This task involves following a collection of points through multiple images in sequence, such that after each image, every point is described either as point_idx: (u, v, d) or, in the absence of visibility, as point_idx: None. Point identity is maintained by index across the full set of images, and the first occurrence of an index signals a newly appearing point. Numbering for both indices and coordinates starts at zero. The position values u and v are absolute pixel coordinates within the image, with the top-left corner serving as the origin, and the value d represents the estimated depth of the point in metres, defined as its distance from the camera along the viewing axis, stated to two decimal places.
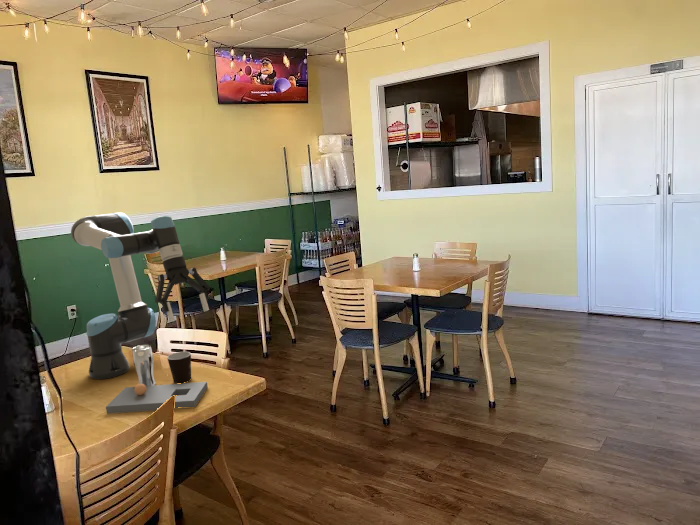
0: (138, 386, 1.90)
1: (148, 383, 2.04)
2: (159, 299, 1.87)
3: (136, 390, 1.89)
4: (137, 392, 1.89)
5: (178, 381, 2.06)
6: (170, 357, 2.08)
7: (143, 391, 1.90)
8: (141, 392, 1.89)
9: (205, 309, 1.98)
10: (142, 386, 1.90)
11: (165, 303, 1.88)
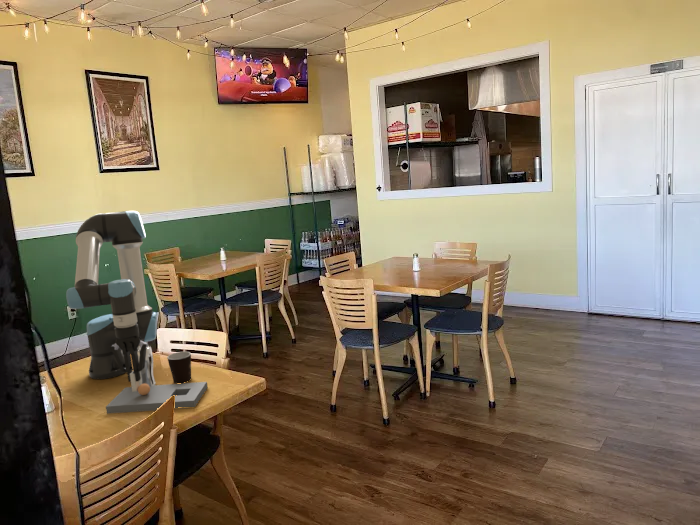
0: (144, 386, 1.90)
1: (148, 383, 2.04)
2: (122, 370, 1.88)
3: (141, 389, 1.89)
4: (140, 391, 1.89)
5: (178, 381, 2.06)
6: (170, 357, 2.08)
7: (146, 393, 1.90)
8: (144, 393, 1.90)
9: None
10: (148, 388, 1.90)
11: (129, 374, 1.89)
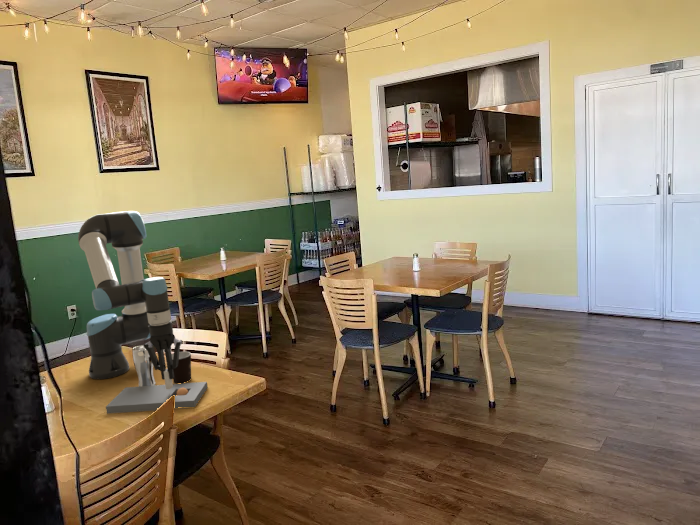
0: (185, 392, 1.90)
1: (148, 383, 2.04)
2: (156, 368, 1.88)
3: (180, 393, 1.89)
4: None
5: (178, 381, 2.06)
6: None
7: None
8: None
9: None
10: None
11: (162, 371, 1.89)
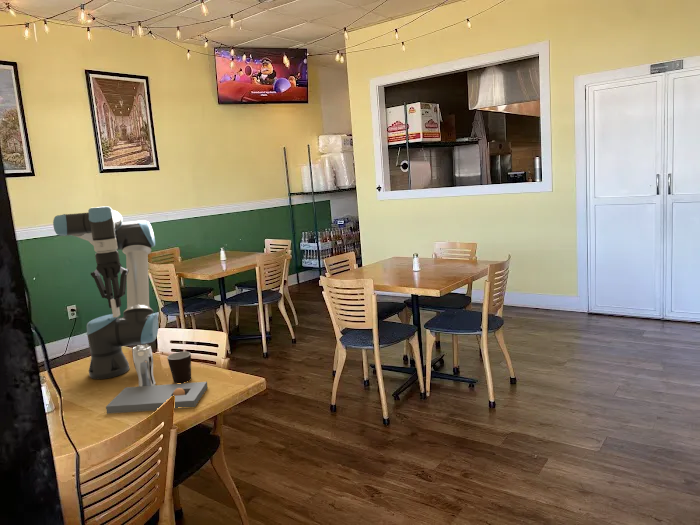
0: (179, 391, 1.90)
1: (148, 383, 2.04)
2: (102, 296, 1.92)
3: (176, 394, 1.89)
4: None
5: (178, 381, 2.06)
6: (170, 357, 2.08)
7: None
8: None
9: None
10: (183, 392, 1.90)
11: (109, 300, 1.93)
